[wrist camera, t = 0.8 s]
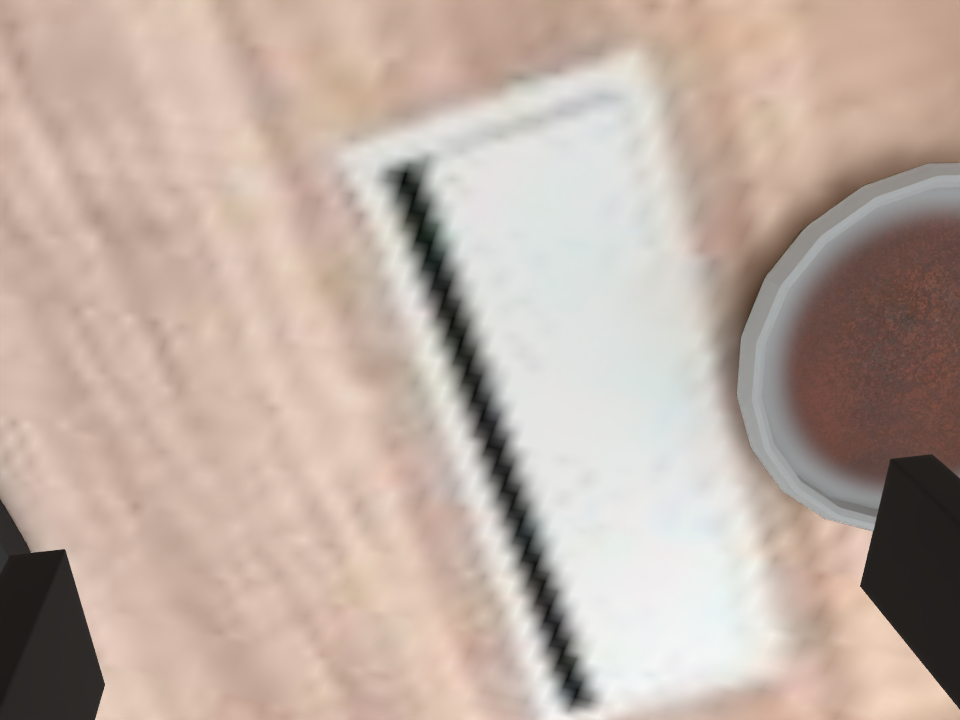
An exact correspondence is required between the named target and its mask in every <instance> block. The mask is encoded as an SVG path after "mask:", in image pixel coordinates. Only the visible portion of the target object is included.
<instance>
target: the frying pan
mask: <svg viewBox="0 0 960 720" xmlns="http://www.w3.org/2000/svg"><path fill="white" fill-rule="evenodd" d="M737 398H738V402H739V406H740V410H741V413H742V417H743V421H744V424H745V428H746V432H747V436H748V439H749V443H750V447H751V449H752V450H753V452H754V453H755V454H756V456H757V457H758V458H759V460H760V461H761V463H762V464H763V465H764V467H765V468H766V470H767V471H768V472H769V474H770V475H771V477H772V478H773V479H774V481H775V482H776V483H777V485H778V486H779V488H780V489H781V490H782V491H783V492H785V493H786V494H788V495H789V496H791V497H792V498H794V499H795V500H797V501H798V502H800V503H801V504H803V505H804V506H806V507H807V508H809V509H810V510H812V511H813V512H815V513H816V514H818V515H819V516H821V517H822V518H824V519H827V520H831V521H835V522H839V523H843V524H846V525H850V526H854V527H858V528H862V529H865V530H869V531H873V530H874V526H875V522H876V517H877V513H878V509H879V505H880V501H881V496H882V492H883V488H884V484H885V479H886V475H887V471H888V467H889V463H890V459H893V458H902V457H912V456H921V455H930V454H933V455H934V456H935V457H936V458H937V459H938V460H940V461H941V462H942V463H943V464H944V465H945V466H946V467H948V468H949V469H950V470H951V471H952V472H953V473H954V474H956V475H957V476H958V477H959V478H960V163H931V164H925V165H922V166H919V167H916V168H913V169H910V170H908V171H905V172H902V173H899V174H896V175H893V176H890V177H887V178H885V179H882V180H879V181H876V182H873V183H870V184H867V185H864V186H862V187H861V188H860V189H858V190H857V191H855V192H854V193H853V194H851V195H850V196H848V197H847V198H846V199H844V200H843V201H841V202H840V203H839V204H837V205H836V206H834V207H833V208H832V209H830V210H829V211H827V212H826V213H825V214H823V215H822V216H820V217H819V218H818V219H816V220H815V221H813V222H812V223H810V224H809V225H808V226H807V227H806V228H805V229H804V230H803V231H801V233H800V234H799V235H798V236H797V238H796V239H795V240H794V241H793V243H792V244H791V245H790V246H789V248H788V249H787V250H786V251H785V253H784V254H783V255H782V256H781V258H780V259H779V260H778V261H777V263H776V264H775V265H774V266H773V268H772V269H771V270H770V271H769V273H768V274H767V275H766V276H765V279H764V281H763V283H762V286H761V288H760V291H759V293H758V296H757V298H756V301H755V303H754V305H753V308H752V310H751V313H750V315H749V318H748V320H747V323H746V325H745V328H744V331H743V334H742V336H741V346H740V359H739V372H738V385H737Z"/></svg>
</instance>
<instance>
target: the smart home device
mask: <svg viewBox="0 0 960 720" xmlns="http://www.w3.org/2000/svg"><path fill="white" fill-rule="evenodd" d="M27 553H30V552H29V549H28V547H27V545H26V543H25V541H24V539H23V538H22V536H21V534H20V532H19V531H18V529H17V527H16V526H15V524H14V522H13V521H12V519H11V517H10V516H9V514H8V512H7V511H6V509H5V507H4V505H3V504H2V502H1V500H0V574H1V572H2V570H3V568H4V566H5V564H6V562H7V560H8V558H9V556H10V555H17V554H27Z"/></svg>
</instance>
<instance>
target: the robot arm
mask: <svg viewBox="0 0 960 720" xmlns="http://www.w3.org/2000/svg"><path fill="white" fill-rule="evenodd" d="M860 587H861V588H862V589H863V590H864V592H865V593H866V594H867V595H868V597H869V598H870V599H871V600H872V601H873V603H874V604H875V605H876V606H877V608H878V609H879V610H880V611H881V613H882V614H883V615H884V616H885V618H886V619H887V620H888V621H889V622H890V624H891V625H892V626H893V627H894V629H895V630H896V631H897V632H898V634H899V635H900V636H901V637H902V639H903V640H904V641H905V642H906V643H907V645H908V646H909V647H910V648H911V650H912V651H913V652H914V653H915V655H916V656H917V657H918V658H919V660H920V661H921V662H922V663H923V665H924V666H925V667H926V668H927V669H928V671H929V672H930V673H931V674H932V676H933V677H934V678H935V679H936V681H937V682H938V683H939V684H940V686H941V687H942V688H943V689H944V690H945V692H946V693H947V694H948V695H949V697H950V698H951V699H952V700H953V702H954V703H955V704H956V705H957V707H958V708H959V709H960V478H959V477H958V476H957V475H956V474H954V473H953V472H952V471H951V470H950V469H949V468H948V467H946V466H945V465H944V464H943V463H942V462H941V461H940V460H938V459H937V458H936V457H935V456H934V455H933V454H930V455H921V456H912V457H902V458H893V459H890V463H889V467H888V471H887V475H886V479H885V484H884V488H883V492H882V496H881V501H880V505H879V509H878V513H877V517H876V522H875V526H874V530H873V534H872V539H871V543H870V547H869V551H868V555H867V560H866V564H865V568H864V572H863V577H862V581H861V585H860ZM104 686H105V683H104V680H103V676H102V673H101V670H100V666H99V663H98V659H97V656H96V653H95V649H94V646H93V642H92V639H91V636H90V632H89V629H88V625H87V622H86V619H85V615H84V612H83V608H82V605H81V602H80V598H79V595H78V591H77V588H76V585H75V581H74V578H73V574H72V571H71V568H70V564H69V561H68V558H67V554H66V551H65V549H63V550H54V551H45V552H36V553H27V554H17V555H10V556H9V558H8V560H7V562H6V564H5V566H4V568H3V570H2V572H1V574H0V720H95V717H96V714H97V711H98V707H99V704H100V700H101V697H102V693H103V690H104Z"/></svg>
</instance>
